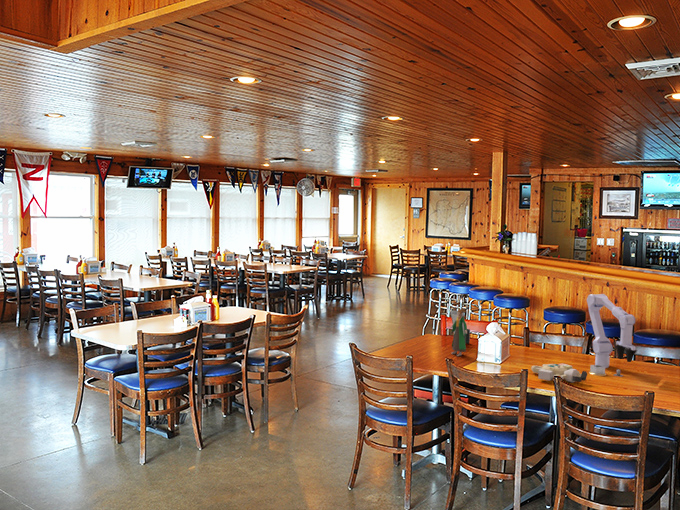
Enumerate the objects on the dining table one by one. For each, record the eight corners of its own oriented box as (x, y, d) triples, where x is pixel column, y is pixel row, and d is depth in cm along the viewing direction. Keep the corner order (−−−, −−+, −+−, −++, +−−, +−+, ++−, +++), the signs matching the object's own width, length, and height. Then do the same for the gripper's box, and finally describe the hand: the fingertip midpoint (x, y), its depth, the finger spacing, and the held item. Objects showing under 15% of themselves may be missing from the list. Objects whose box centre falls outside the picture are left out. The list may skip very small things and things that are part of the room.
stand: (614, 375, 329) (615, 368, 329) (623, 376, 326) (623, 369, 326) (613, 377, 325) (613, 370, 325) (621, 378, 323) (622, 371, 322)
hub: (590, 372, 335) (591, 365, 334) (607, 375, 329) (608, 368, 329) (586, 375, 328) (587, 368, 327) (604, 378, 322) (604, 371, 322)
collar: (599, 371, 331) (599, 364, 331) (604, 374, 326) (605, 367, 326) (590, 371, 331) (590, 365, 330) (595, 374, 325) (596, 367, 325)
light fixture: (446, 346, 395) (448, 310, 393) (454, 341, 410) (455, 307, 409) (462, 348, 390) (463, 312, 388) (469, 343, 405) (471, 308, 404)
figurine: (446, 352, 376) (448, 306, 374) (455, 351, 380) (457, 305, 378) (462, 358, 362) (464, 310, 360) (471, 357, 365) (473, 309, 363)
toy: (578, 373, 301) (522, 363, 320) (577, 389, 302) (521, 378, 321) (593, 365, 321) (539, 355, 340) (592, 379, 321) (538, 369, 340)
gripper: (611, 333, 334) (610, 357, 334) (627, 339, 319) (626, 363, 320) (623, 333, 335) (621, 356, 335) (639, 338, 320) (638, 363, 321)
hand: (624, 360), depth 328 cm, fingers open, 7 cm apart
